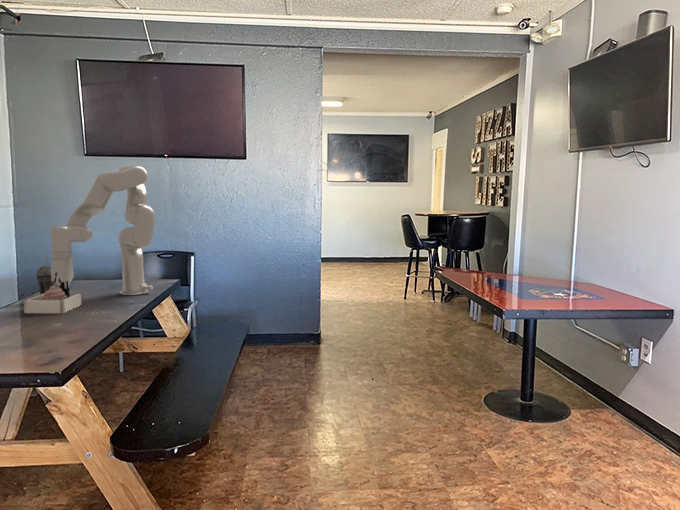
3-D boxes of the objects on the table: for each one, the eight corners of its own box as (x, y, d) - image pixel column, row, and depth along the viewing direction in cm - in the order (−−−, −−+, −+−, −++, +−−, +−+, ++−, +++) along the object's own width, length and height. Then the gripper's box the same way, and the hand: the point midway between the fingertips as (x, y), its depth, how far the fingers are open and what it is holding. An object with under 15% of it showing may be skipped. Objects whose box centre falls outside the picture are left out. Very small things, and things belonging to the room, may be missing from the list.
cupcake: (55, 311, 198) (53, 287, 197) (37, 310, 201) (35, 286, 200) (73, 306, 207) (72, 283, 206) (55, 305, 210) (54, 282, 209)
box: (81, 305, 210) (80, 293, 209) (63, 313, 196) (62, 301, 195) (45, 304, 210) (44, 293, 209) (24, 313, 196) (23, 300, 195)
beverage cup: (33, 301, 215) (30, 256, 212) (48, 298, 222) (45, 254, 219) (46, 303, 213) (43, 257, 210) (60, 299, 220) (57, 255, 217)
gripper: (62, 252, 216) (65, 293, 218) (43, 257, 201) (46, 301, 204) (79, 253, 216) (82, 293, 219) (61, 257, 201) (64, 301, 204)
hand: (64, 297), depth 211 cm, fingers closed
